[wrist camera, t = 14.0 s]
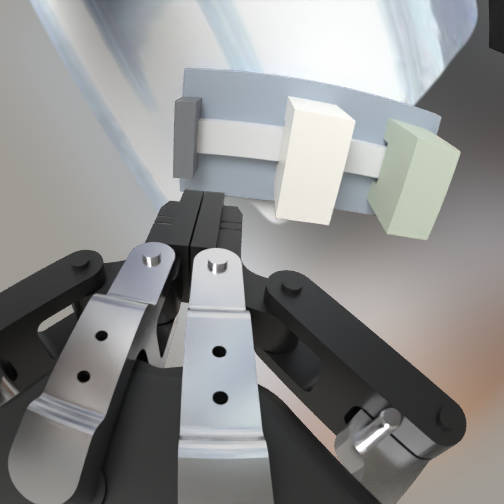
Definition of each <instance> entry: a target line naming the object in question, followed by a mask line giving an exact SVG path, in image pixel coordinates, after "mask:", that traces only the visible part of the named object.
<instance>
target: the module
mask: <svg viewBox="0 0 504 504" xmlns="http://www.w3.org/2000/svg"><path fill="white" fill-rule="evenodd" d="M284 120H285V126H284V133H283V139H282V145H281V151H280V157H279V163H277V167H276V173H275V179H274V199H275V216H276V218H279V219H287V220H294V221H302V222H310V223H316V224H324V225H329V223H330V220H331V216H332V213H333V209H334V205H335V202H336V198H337V194H338V190H339V187H340V183H341V179H342V175H343V171H344V167H345V163H346V159H347V155H348V151H349V147H350V143H351V139H352V135H353V130H354V126H355V122H356V121H355V120H354V119H353V118H352V117H350V116H349V115H348V114H347V113H346V112H344V111H343V110H342V109H341V108H339V107H338V106H337V105H334V104H329V103H325V102H319V101H314V100H309V99H303V98H297V97H291V96H288V99H287V105H286V111H285V118H284Z"/></svg>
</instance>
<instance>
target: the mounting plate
mask: <svg viewBox="0 0 504 504" xmlns="http://www.w3.org/2000/svg"><path fill="white" fill-rule="evenodd" d="M288 96H291V97H297V98H303V99H309V100H314V101H319V102H325V103H329V104H334V105H337V106H338V107H339V108H341V109H342V110H343V111H344V112H346V113H347V114H348V115H349V116H350V117H352V118H353V119H354V120H355V121H356V122H355V126H354V130H353V135H352V139H351V143H350V147H349V151H348V155H347V159H346V163H345V167H344V171H343V175H342V179H341V183H340V187H339V190H338V194H337V198H336V202H335V205H334V209H336V210H343V211H349V212H356V213H362V214H368V215H374V216H377V218H378V220H379V221H380V223H381V225H382V227H383V229H384V230H385V232H386V234H390V235H397V236H403V237H410V238H416V239H422V240H427V239H428V237H429V235H430V232H431V230H432V227H433V225H434V223H435V220H436V218H437V216H438V213H439V211H440V208H441V206H442V203H443V200H444V198H445V195H446V193H447V190H448V187H449V184H450V182H451V179H452V176H453V173H454V170H455V167H456V165H457V162H458V158H459V155H460V151H459V150H457V149H456V148H455V147H453V146H452V145H450V144H449V143H447V142H446V141H444V140H443V139H441V138H440V137H438V136H437V132H438V128H439V125H440V121H441V116H439V115H437V114H435V113H432V112H429V111H426V110H423V109H420V108H417V107H414V106H411V105H408V104H405V103H402V102H398V101H395V100H392V99H388V98H385V97H381V96H377V95H374V94H370V93H366V92H362V91H358V90H354V89H349V88H345V87H341V86H336V85H331V84H326V83H321V82H316V81H310V80H305V79H299V78H293V77H286V76H279V75H272V74H264V73H255V72H245V71H234V70H221V69H203V68H186V69H185V70H184V84H183V97H181V98H180V99H178V100H176V101H175V119H174V160H173V178H180V191H184V190H185V189H187V190H199V191H204V193H205V191H211V192H222V193H225V195H226V196H235V197H244V198H253V199H261V200H270V201H275V199H274V179H275V173H276V167H277V163H279V157H280V151H281V145H282V139H283V133H284V126H285V120H284V118H285V111H286V105H287V99H288Z"/></svg>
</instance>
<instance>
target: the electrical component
mask: <svg viewBox="0 0 504 504" xmlns="http://www.w3.org/2000/svg"><path fill="white" fill-rule="evenodd" d="M489 48H492V49H494V50H496V51H499V52H501V53H503V54H504V0H489Z"/></svg>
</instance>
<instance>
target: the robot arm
mask: <svg viewBox="0 0 504 504" xmlns="http://www.w3.org/2000/svg"><path fill="white" fill-rule="evenodd" d="M224 195H225V193H222V192H211V191H205V194H204V191H199V190H187V189H185V190H184V193H183V195H182V197H181V200H180V202H177V201H169V202H168V203H166V204H165V205H164V206H162V207H161V209H160V211H159V213H158V217H157V218H156V220H155V223H154V224H153V226H152V228H151V231H150V233H149V235H148V237H147V240H146V242H145V243H144V244H141V245H139V246H137V247H135V248H134V249H133V250H132V251H131V252H130V254H129V256H128V257H127V259H126V260H124V261H119V262H111V263H103V258H102V257H101V255H100V254H99V253H97V252H95V251H92V250H80V251H77V252H74V253H72V254H70V255H68V256H66V257H64V258H62V259H60V260H58V261H56V262H54V263H53V264H51V265H49V266H47V267H45V268H43V269H41V270H40V271H38V272H36V273H34V274H32V275H31V276H29V277H27V278H25V279H23V280H22V281H20V282H19V283H17V284H15V285H13V286H11V287H9V288H8V289H6V290H4V291H3V292H1V293H0V504H396V503H397V502H398V500H399V499H400V498H401V497H402V496H403V495H404V493H405V492H406V491H407V490H408V488H409V487H410V486H411V485H412V483H413V482H414V481H415V480H416V478H417V477H418V476H419V474H420V473H421V472H422V470H423V469H424V467H425V466H426V465H427V463H428V462H429V461H430V460H432V459H433V458H435V457H437V456H438V455H440V454H442V453H443V452H445V451H446V450H448V449H449V448H451V447H452V446H454V445H455V444H457V443H458V442H459V441H461V439H462V438H463V436H464V434H465V431H466V418H465V415H464V412H463V410H462V409H461V407H460V406H459V405H458V404H457V403H456V402H455V401H454V400H452V399H451V398H450V397H449V396H448V395H447V394H446V393H444V392H443V391H442V390H441V389H440V388H439V387H437V386H436V385H435V384H434V383H433V382H432V381H430V380H429V379H428V378H427V377H426V376H425V375H423V374H422V373H421V372H420V371H419V370H418V369H416V368H415V367H414V366H413V365H411V363H409V362H408V361H407V360H406V359H404V358H403V357H402V356H401V355H400V354H399V353H398V352H396V351H395V350H394V349H393V348H392V347H391V346H389V345H388V344H387V343H385V341H383V340H382V339H381V338H379V336H377V335H376V334H375V333H374V332H373V331H371V330H370V329H369V328H368V327H366V326H365V325H364V324H363V323H362V322H361V321H360V320H358V319H357V318H356V317H355V316H354V315H352V314H351V313H350V312H349V311H348V310H346V309H345V308H344V307H343V306H342V305H340V304H339V303H338V302H337V301H336V300H334V299H333V298H332V297H331V296H329V295H328V294H327V293H326V292H325V291H323V290H322V289H321V288H320V287H318V286H317V285H316V284H315V283H314V282H313V281H311V280H310V279H309V278H307V277H306V276H305V275H303V274H300V273H298V272H295V271H288V270H284V271H278V272H275V273H273V274H272V275H270V276H269V278H265V277H262V276H259V275H256V274H254V273H253V272H251V271H249V270H248V269H247V268H246V267H245V266H244V265H243V263H242V261H241V238H242V213H241V212H240V210H239V209H238V207H233V206H224ZM189 299H190V306H189V308H188V310H187V319H186V331H185V346H184V361H183V367H174V368H164V367H165V363H166V359H167V356H168V353H169V349H170V346H171V343H172V339H173V336H174V332H175V329H176V326H177V323H178V312H179V309H180V304H181V302H186V303H188V302H189ZM71 304H72V307H73V310H74V313H72V314H70V315H69V316H67V317H65V318H64V319H62V320H61V321H59V322H57V323H56V324H54V325H53V326H51V327H49V328H48V329H46V330H44V331H42V332H37V330H38V327H39V325H40V324H41V323H42V322H43V321H44V320H46V319H48V318H49V317H51V316H52V315H54V314H56V313H57V312H59V311H61V310H62V309H64V308H66V307H67V306H69V305H71ZM254 350H255V352H256V354H257V355H258V356H259V357H260V359H261V360H262V361H263V362H264V363H265V364H266V365H267V366H268V367H269V368H270V369H271V370H272V371H273V372H274V373H275V374H276V375H277V377H279V379H280V380H281V381H282V382H283V383H284V384H285V385H286V386H287V387H288V388H289V389H290V390H291V391H292V392H293V393H294V394H295V395H296V396H297V397H298V398H299V399H300V400H301V401H302V402H303V403H304V404H305V405H306V406H307V407H308V408H309V409H310V410H311V411H312V412H313V413H314V414H315V415H316V416H317V417H318V418H319V419H320V420H321V421H322V422H323V423H324V424H325V425H326V426H327V427H328V428H329V429H330V430H331V431H332V432H333V433H334V434H335V435H336V439H335V444H334V447H335V452H336V455H337V457H338V458H339V460H340V461H341V462H342V464H343V465H344V466H343V465H342V464H341V463H340V462H339V461H338V460H337V459H336V458H335V457H334V456H333V455H332V454H331V453H330V452H329V450H328V449H327V448H326V447H325V446H324V445H323V444H322V443H321V442H320V441H319V440H318V439H317V438H316V437H315V436H314V435H313V434H312V432H311V431H310V430H309V429H308V428H307V427H306V426H305V425H304V424H303V423H302V422H301V420H300V419H299V418H298V417H297V416H296V415H295V414H294V413H293V412H292V411H291V409H290V408H289V407H288V406H287V405H286V404H285V403H284V402H283V401H282V400H281V399H280V398H279V397H278V396H276V395H275V394H274V393H272V392H271V391H269V390H268V389H266V388H264V387H262V386H261V385H259V384H257V375H256V366H255V355H254Z"/></svg>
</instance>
